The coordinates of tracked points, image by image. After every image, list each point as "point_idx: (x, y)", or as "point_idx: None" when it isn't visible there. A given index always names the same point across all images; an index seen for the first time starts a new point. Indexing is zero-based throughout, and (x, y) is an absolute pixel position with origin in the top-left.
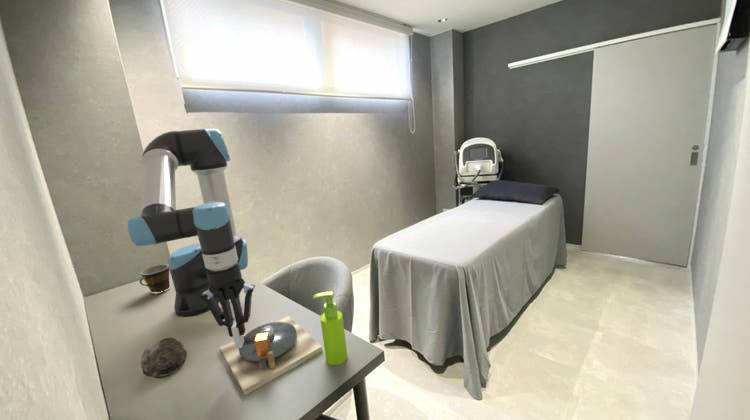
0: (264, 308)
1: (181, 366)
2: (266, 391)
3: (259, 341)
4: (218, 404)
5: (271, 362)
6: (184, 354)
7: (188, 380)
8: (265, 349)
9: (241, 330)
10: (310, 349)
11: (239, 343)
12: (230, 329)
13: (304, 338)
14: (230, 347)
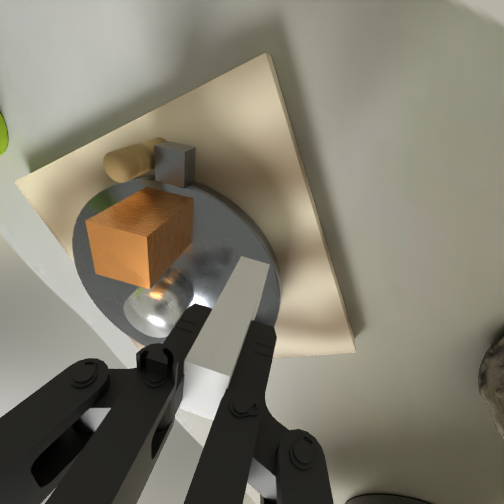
0: None
1: (502, 337)
2: (185, 39)
3: (126, 227)
4: (385, 43)
5: (137, 143)
6: (489, 380)
7: (486, 260)
8: (137, 200)
9: (187, 329)
10: (46, 185)
11: (239, 273)
12: (250, 369)
13: None
14: (318, 333)
